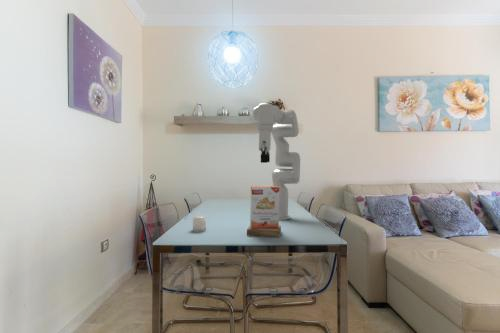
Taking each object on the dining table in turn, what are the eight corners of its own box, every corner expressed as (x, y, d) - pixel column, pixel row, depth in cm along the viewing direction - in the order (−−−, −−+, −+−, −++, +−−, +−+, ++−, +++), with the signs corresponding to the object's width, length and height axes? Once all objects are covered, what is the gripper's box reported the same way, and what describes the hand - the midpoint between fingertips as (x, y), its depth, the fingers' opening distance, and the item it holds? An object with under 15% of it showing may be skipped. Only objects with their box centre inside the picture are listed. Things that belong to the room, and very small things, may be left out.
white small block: (195, 228, 164) (195, 215, 164) (207, 228, 163) (207, 215, 163) (190, 231, 157) (190, 217, 157) (203, 231, 156) (203, 218, 156)
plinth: (250, 230, 160) (250, 224, 160) (280, 231, 157) (281, 225, 157) (246, 235, 149) (246, 229, 149) (279, 237, 146) (279, 230, 146)
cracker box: (251, 228, 150) (251, 186, 149) (250, 226, 156) (250, 185, 155) (279, 228, 151) (279, 186, 150) (276, 225, 157) (277, 185, 156)
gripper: (260, 130, 161) (260, 162, 162) (255, 126, 144) (255, 162, 145) (274, 129, 160) (274, 162, 160) (271, 126, 143) (270, 162, 143)
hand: (265, 162), depth 152 cm, fingers open, 9 cm apart
